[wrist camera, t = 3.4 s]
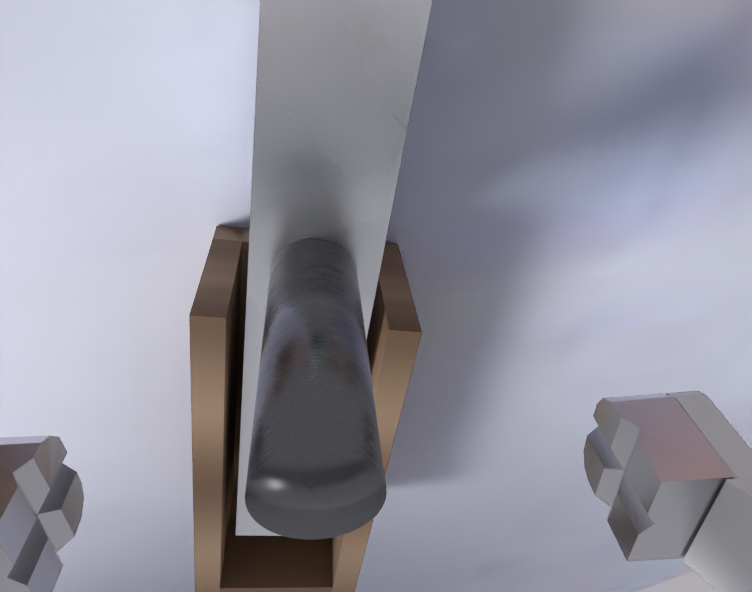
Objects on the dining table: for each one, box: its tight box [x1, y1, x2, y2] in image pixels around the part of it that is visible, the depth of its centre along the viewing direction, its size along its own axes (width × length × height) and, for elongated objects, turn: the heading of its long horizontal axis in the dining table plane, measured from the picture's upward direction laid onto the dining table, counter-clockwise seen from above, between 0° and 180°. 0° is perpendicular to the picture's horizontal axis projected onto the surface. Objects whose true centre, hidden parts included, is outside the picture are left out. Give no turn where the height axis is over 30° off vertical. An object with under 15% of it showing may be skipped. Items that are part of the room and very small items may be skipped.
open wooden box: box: [190, 226, 422, 592], centre depth 18 cm, size 12×5×4 cm, turn 171°
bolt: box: [236, 0, 432, 540], centre depth 13 cm, size 16×3×9 cm, turn 171°
